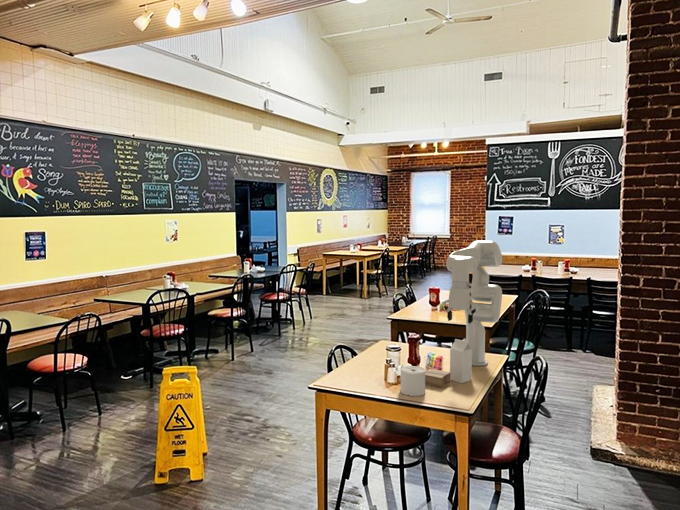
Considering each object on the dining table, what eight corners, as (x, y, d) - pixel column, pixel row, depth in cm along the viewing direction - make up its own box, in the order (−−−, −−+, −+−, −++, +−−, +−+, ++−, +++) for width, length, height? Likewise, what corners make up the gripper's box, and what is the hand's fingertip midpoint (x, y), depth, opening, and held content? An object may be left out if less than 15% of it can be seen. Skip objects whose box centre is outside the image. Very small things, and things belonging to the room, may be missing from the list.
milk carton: (462, 383, 227) (462, 342, 226) (449, 379, 232) (450, 340, 231) (471, 380, 231) (472, 340, 230) (459, 376, 237) (459, 337, 235)
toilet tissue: (420, 398, 209) (420, 375, 208) (394, 393, 215) (394, 370, 214) (428, 390, 218) (429, 368, 218) (403, 386, 224) (403, 364, 223)
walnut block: (430, 378, 235) (430, 368, 234) (450, 382, 229) (450, 372, 229) (420, 384, 227) (420, 374, 226) (441, 389, 221) (441, 378, 221)
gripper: (481, 285, 226) (481, 322, 227) (445, 282, 236) (445, 317, 237) (475, 287, 219) (475, 325, 221) (439, 284, 229) (439, 320, 231)
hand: (459, 321), depth 229 cm, fingers open, 9 cm apart
